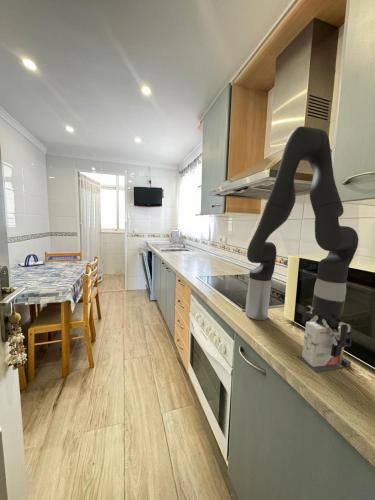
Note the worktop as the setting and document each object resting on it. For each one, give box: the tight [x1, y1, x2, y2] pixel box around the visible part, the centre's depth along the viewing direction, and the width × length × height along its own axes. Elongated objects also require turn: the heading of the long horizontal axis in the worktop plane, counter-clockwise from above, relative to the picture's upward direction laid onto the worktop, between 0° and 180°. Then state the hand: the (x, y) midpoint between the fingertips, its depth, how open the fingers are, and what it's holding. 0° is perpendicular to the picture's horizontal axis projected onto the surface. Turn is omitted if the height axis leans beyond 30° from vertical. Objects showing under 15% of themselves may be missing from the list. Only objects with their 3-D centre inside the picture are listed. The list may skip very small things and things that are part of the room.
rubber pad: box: [297, 354, 344, 373], centre depth 63 cm, size 7×10×1 cm
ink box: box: [301, 322, 341, 367], centre depth 62 cm, size 9×5×12 cm, turn 100°
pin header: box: [337, 347, 352, 368], centre depth 64 cm, size 7×3×9 cm, turn 15°
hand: (321, 347), depth 63 cm, fingers open, 8 cm apart
